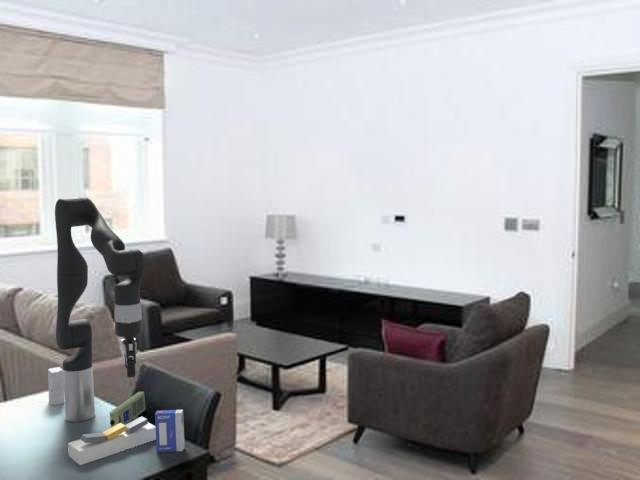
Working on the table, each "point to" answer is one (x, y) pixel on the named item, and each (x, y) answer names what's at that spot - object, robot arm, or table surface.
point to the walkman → (169, 430)
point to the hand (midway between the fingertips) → (130, 372)
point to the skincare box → (56, 386)
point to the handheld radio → (128, 410)
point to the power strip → (110, 445)
